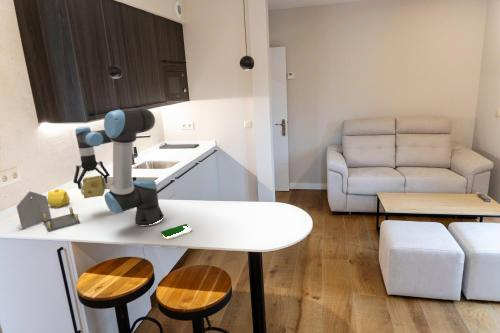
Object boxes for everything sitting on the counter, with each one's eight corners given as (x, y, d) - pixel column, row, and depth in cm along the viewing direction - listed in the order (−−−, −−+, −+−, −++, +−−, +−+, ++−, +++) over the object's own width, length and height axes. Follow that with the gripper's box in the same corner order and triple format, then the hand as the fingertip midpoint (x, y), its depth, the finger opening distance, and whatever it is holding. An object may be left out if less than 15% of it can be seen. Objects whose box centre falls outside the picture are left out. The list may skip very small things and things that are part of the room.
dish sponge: (161, 235, 170) (160, 231, 169) (186, 227, 177) (186, 223, 176) (166, 240, 164) (165, 236, 163) (192, 232, 171) (192, 228, 171)
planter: (43, 216, 202) (36, 185, 197) (51, 218, 198) (44, 186, 193) (14, 227, 188) (6, 194, 183) (22, 229, 184) (14, 196, 179)
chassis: (80, 223, 189) (78, 214, 187) (48, 232, 180) (46, 223, 178) (73, 214, 201) (72, 206, 200) (43, 222, 192) (41, 214, 191)
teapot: (77, 204, 219) (74, 188, 217) (61, 210, 210) (58, 193, 207) (59, 200, 227) (55, 185, 224) (43, 206, 218) (39, 190, 215)
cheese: (84, 198, 190) (80, 181, 188) (87, 193, 200) (83, 176, 198) (104, 195, 193) (100, 178, 191) (105, 190, 203) (102, 174, 201)
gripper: (107, 150, 201) (113, 185, 206) (62, 157, 187) (70, 195, 192) (111, 151, 195) (117, 187, 200) (65, 159, 181) (73, 198, 186)
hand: (94, 191), depth 196 cm, fingers closed on cheese, 12 cm apart
